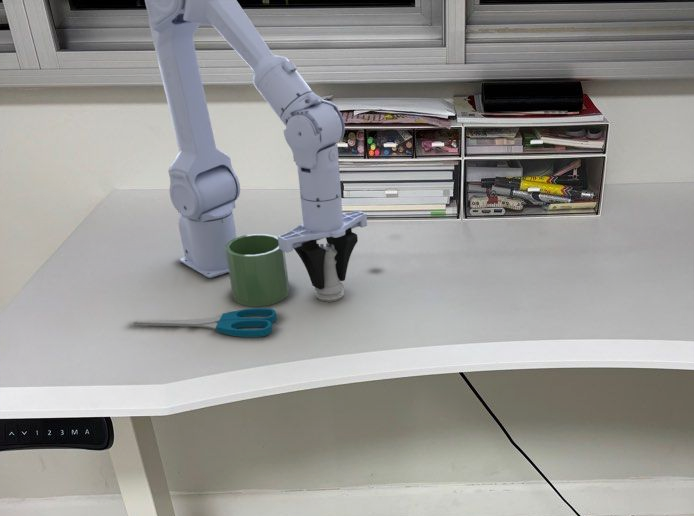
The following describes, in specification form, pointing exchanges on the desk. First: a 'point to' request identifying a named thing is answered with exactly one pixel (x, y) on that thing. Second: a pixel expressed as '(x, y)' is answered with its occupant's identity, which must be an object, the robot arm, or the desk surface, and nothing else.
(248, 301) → the planter
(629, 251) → the desk surface
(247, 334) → the scissors
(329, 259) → the rook chess piece
